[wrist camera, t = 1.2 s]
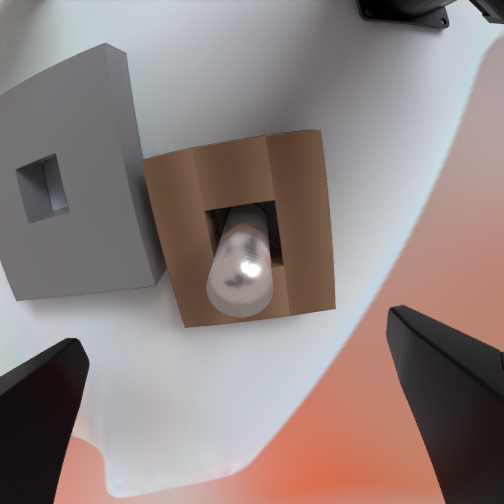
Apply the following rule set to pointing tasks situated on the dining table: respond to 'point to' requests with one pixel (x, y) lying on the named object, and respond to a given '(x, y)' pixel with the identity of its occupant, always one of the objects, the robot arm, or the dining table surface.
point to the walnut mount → (239, 193)
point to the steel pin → (242, 264)
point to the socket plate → (76, 182)
